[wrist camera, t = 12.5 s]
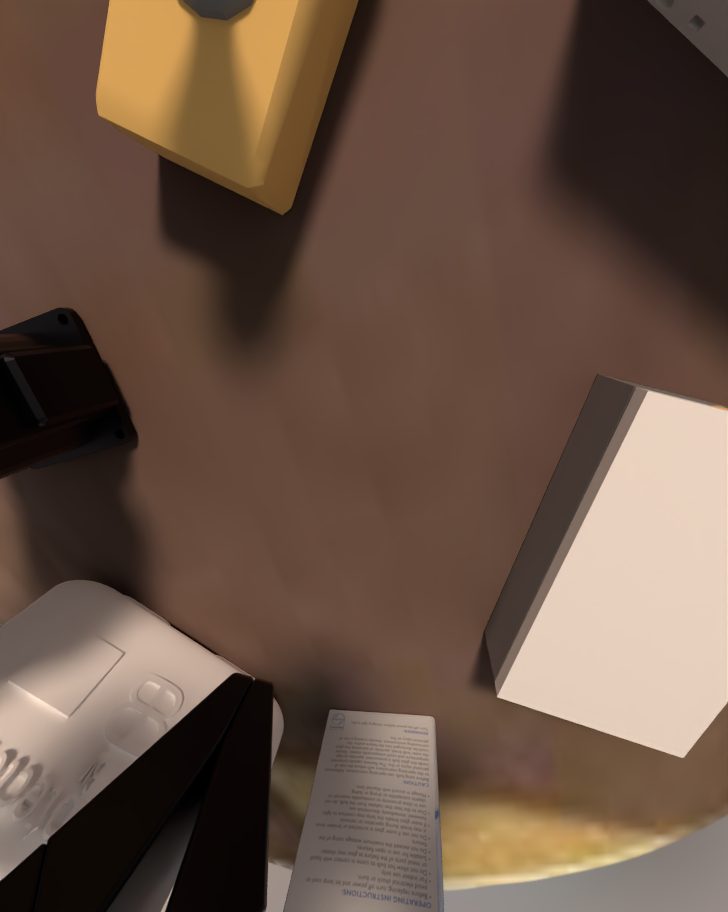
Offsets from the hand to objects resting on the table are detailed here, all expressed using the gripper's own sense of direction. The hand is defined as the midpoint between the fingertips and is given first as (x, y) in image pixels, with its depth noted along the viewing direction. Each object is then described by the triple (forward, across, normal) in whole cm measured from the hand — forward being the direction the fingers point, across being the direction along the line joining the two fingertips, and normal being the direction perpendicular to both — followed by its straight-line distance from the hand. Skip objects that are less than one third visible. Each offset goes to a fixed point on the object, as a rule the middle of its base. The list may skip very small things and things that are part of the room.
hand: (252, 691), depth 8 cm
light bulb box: (+12, -7, +20) cm, 24 cm away
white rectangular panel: (+9, -13, 0) cm, 16 cm away
